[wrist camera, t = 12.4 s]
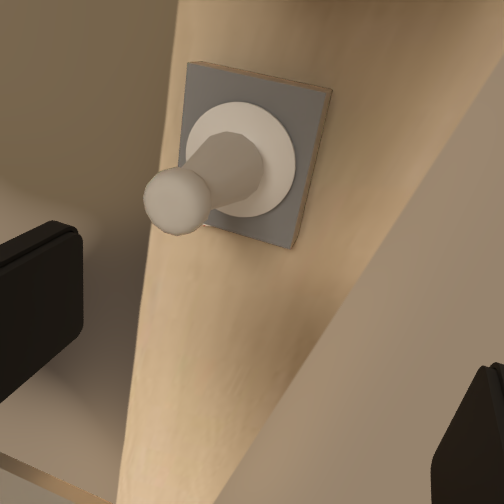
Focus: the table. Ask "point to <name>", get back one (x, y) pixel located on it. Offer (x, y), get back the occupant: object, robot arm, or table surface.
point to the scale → (258, 143)
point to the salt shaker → (204, 183)
